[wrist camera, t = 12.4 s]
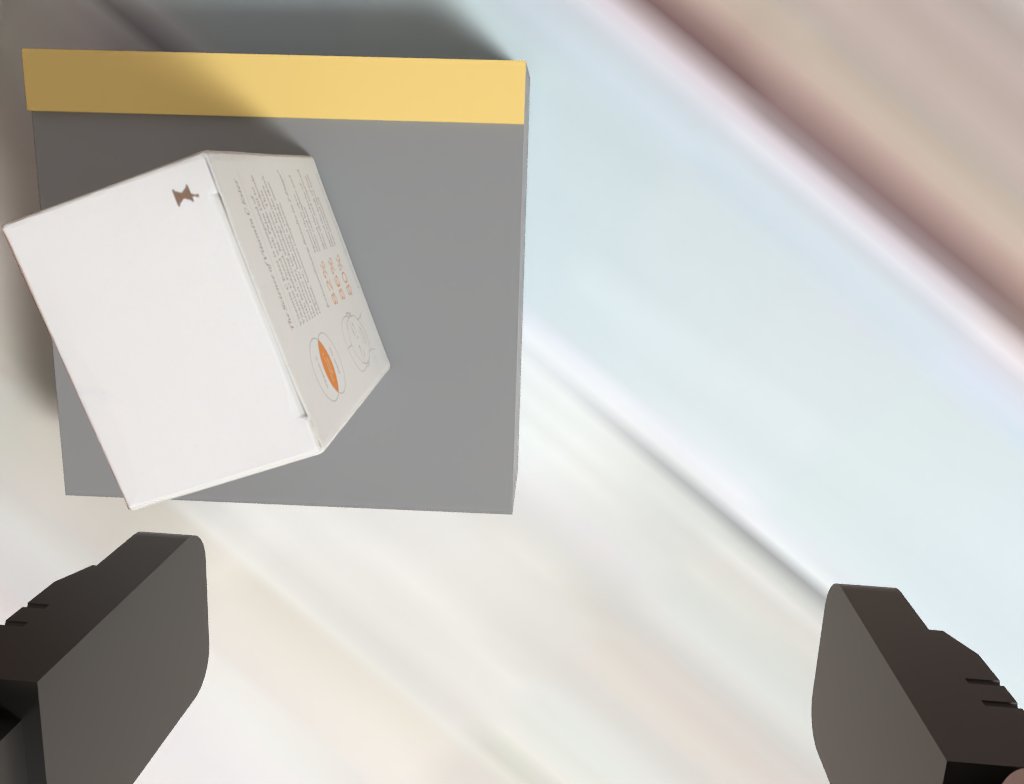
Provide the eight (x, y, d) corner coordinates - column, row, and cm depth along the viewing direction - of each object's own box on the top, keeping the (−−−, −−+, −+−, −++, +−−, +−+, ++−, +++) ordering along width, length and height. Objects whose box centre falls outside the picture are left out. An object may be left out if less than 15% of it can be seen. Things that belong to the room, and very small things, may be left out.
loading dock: (529, 77, 35) (525, 60, 30) (517, 472, 39) (511, 517, 34) (97, 66, 36) (21, 48, 31) (125, 456, 40) (61, 497, 35)
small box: (169, 204, 32) (-11, 217, 22) (316, 152, 31) (202, 141, 21) (253, 415, 34) (122, 518, 24) (395, 370, 33) (324, 456, 23)
